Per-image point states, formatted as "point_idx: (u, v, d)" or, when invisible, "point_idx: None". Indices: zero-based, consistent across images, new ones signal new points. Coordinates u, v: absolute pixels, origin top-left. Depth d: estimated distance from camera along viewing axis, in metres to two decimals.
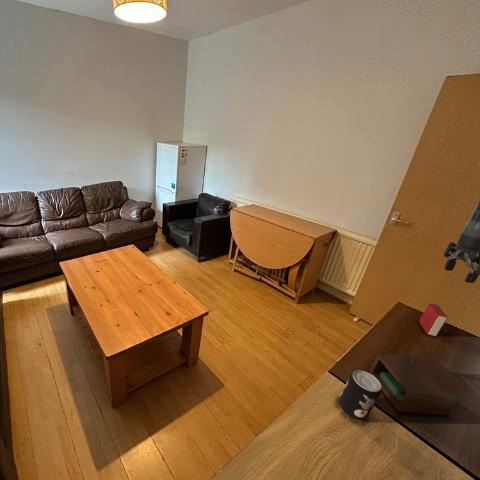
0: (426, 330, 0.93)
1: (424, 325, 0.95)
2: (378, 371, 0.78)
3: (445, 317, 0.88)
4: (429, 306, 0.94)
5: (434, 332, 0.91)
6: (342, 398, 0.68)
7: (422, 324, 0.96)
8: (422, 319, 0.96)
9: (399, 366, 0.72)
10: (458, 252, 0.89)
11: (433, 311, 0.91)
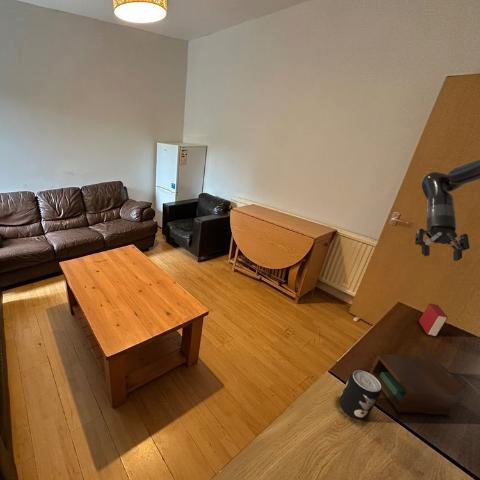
0: (426, 330, 0.93)
1: (424, 325, 0.95)
2: (378, 371, 0.78)
3: (445, 317, 0.88)
4: (429, 306, 0.94)
5: (434, 332, 0.91)
6: (342, 398, 0.68)
7: (422, 324, 0.96)
8: (422, 319, 0.96)
9: (399, 366, 0.72)
10: None
11: (433, 311, 0.91)
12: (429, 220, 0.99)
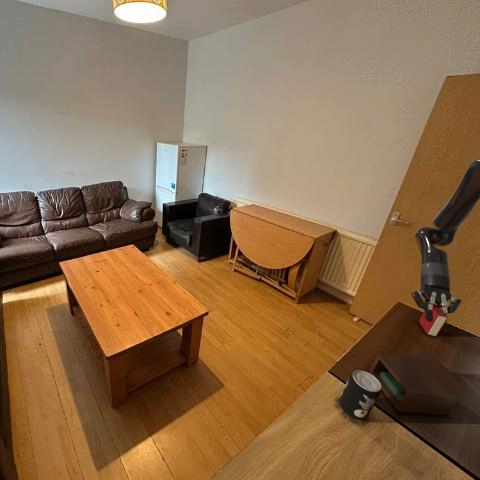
0: (426, 330, 0.93)
1: (424, 325, 0.95)
2: (378, 371, 0.78)
3: (445, 317, 0.88)
4: None
5: (434, 332, 0.91)
6: (342, 398, 0.68)
7: (422, 324, 0.96)
8: (422, 319, 0.96)
9: (399, 366, 0.72)
10: None
11: (433, 311, 0.91)
12: (423, 278, 0.96)
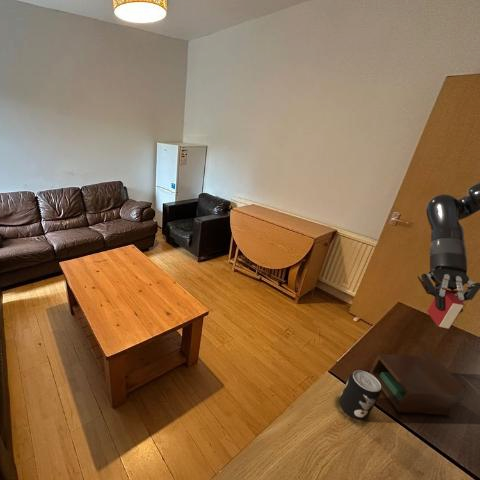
0: (437, 321, 0.75)
1: (434, 315, 0.77)
2: (378, 371, 0.78)
3: (461, 305, 0.70)
4: None
5: (447, 324, 0.73)
6: (342, 398, 0.68)
7: (431, 314, 0.78)
8: (431, 308, 0.79)
9: (399, 366, 0.72)
10: None
11: (446, 298, 0.73)
12: (433, 258, 0.78)
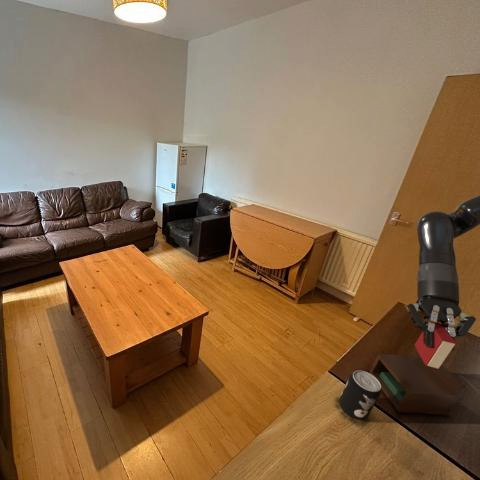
0: (425, 359, 0.66)
1: (422, 352, 0.67)
2: (378, 371, 0.78)
3: (452, 343, 0.60)
4: None
5: (436, 363, 0.64)
6: (342, 398, 0.68)
7: (419, 350, 0.68)
8: (419, 343, 0.69)
9: (399, 366, 0.72)
10: None
11: (435, 333, 0.64)
12: (421, 285, 0.69)
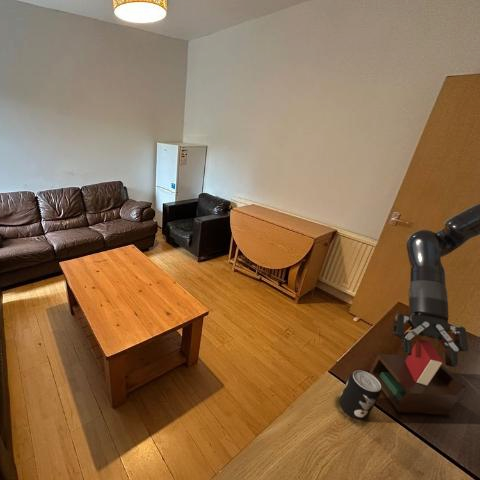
0: (414, 376, 0.68)
1: (411, 368, 0.70)
2: (378, 371, 0.78)
3: (440, 362, 0.63)
4: (418, 343, 0.69)
5: (425, 380, 0.66)
6: (342, 398, 0.68)
7: (409, 366, 0.71)
8: (409, 359, 0.72)
9: (399, 366, 0.72)
10: None
11: (423, 351, 0.66)
12: (412, 301, 0.71)
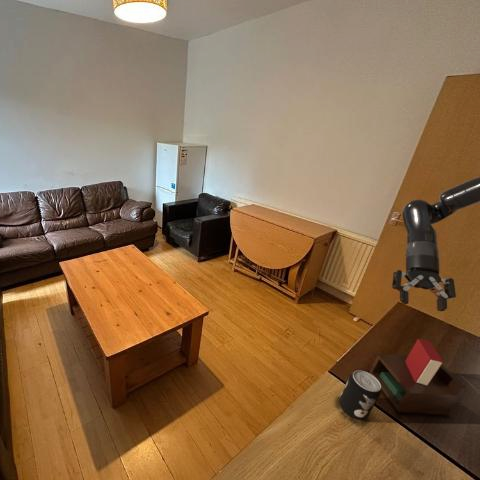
0: (414, 376, 0.68)
1: (411, 368, 0.70)
2: (378, 371, 0.78)
3: (440, 362, 0.63)
4: (418, 343, 0.69)
5: (425, 380, 0.66)
6: (342, 398, 0.68)
7: (409, 366, 0.71)
8: (409, 359, 0.72)
9: (399, 366, 0.72)
10: None
11: (423, 351, 0.66)
12: (408, 259, 0.83)
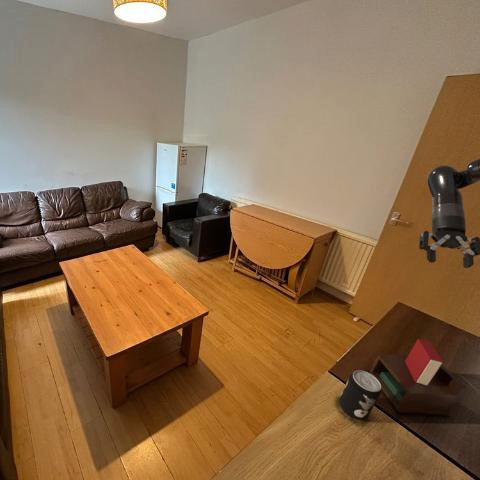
0: (414, 376, 0.68)
1: (411, 368, 0.70)
2: (378, 371, 0.78)
3: (440, 362, 0.63)
4: (418, 343, 0.69)
5: (425, 380, 0.66)
6: (342, 398, 0.68)
7: (409, 366, 0.71)
8: (409, 359, 0.72)
9: (399, 366, 0.72)
10: None
11: (423, 351, 0.66)
12: (435, 221, 0.87)
